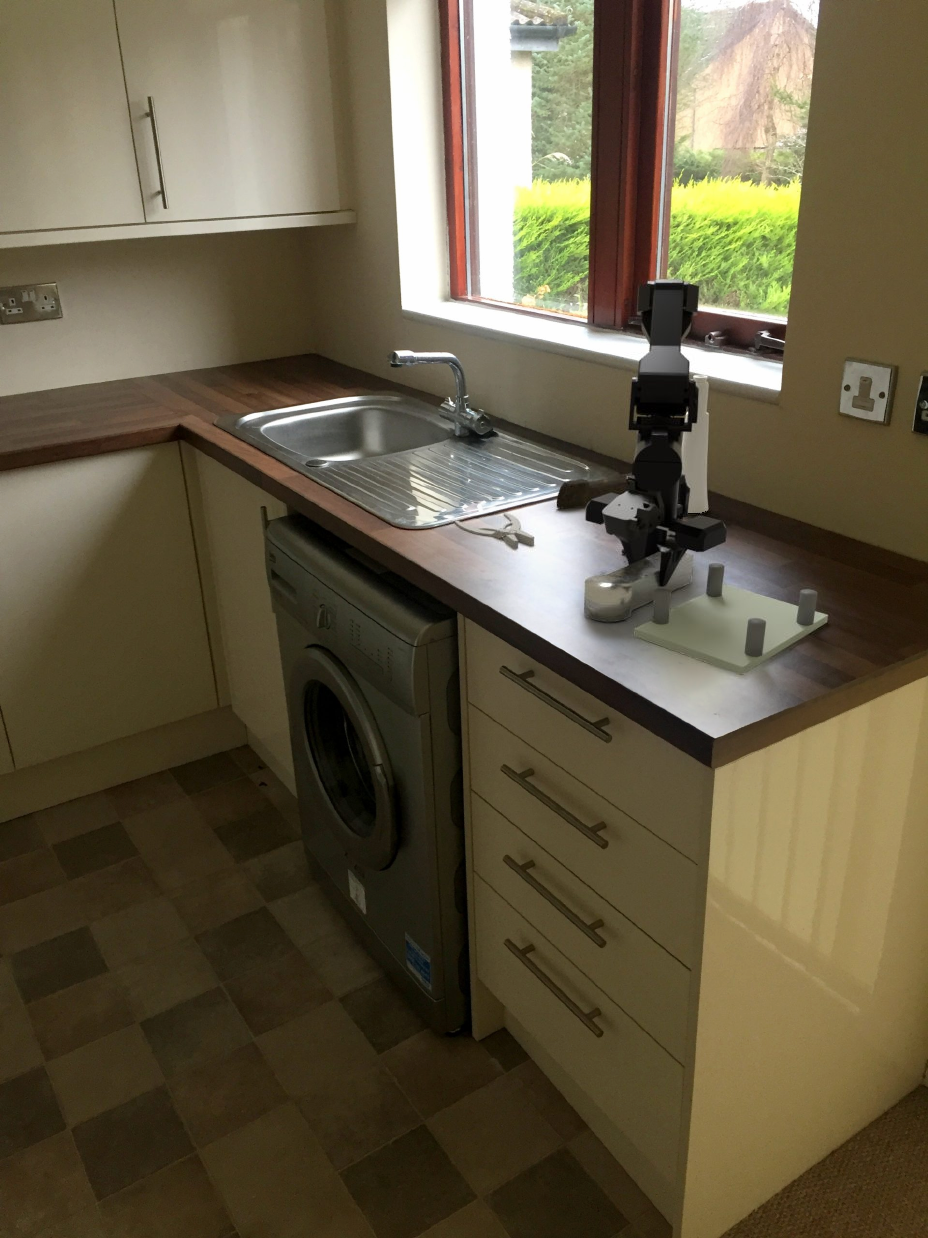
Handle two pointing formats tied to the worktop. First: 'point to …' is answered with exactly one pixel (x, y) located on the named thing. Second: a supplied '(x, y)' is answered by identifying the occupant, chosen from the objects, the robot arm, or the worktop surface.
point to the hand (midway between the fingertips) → (649, 581)
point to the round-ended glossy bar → (630, 587)
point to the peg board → (730, 624)
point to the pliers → (503, 532)
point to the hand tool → (589, 490)
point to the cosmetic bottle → (697, 451)
